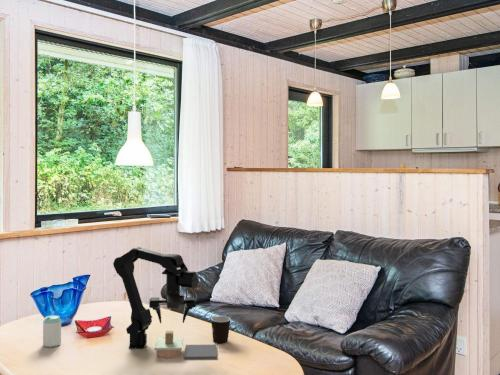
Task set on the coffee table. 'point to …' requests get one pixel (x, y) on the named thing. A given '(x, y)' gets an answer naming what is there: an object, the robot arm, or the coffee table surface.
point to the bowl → (168, 353)
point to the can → (52, 331)
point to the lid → (169, 342)
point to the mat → (200, 352)
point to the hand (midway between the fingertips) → (172, 322)
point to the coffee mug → (220, 329)
